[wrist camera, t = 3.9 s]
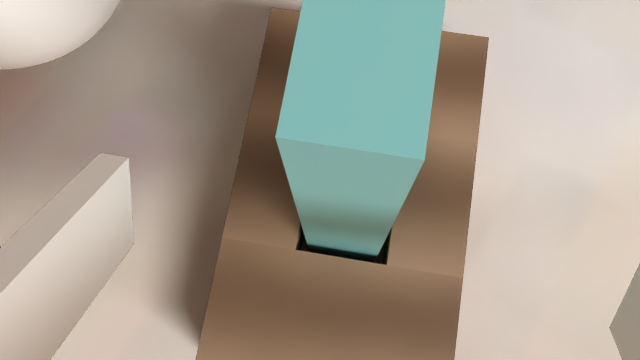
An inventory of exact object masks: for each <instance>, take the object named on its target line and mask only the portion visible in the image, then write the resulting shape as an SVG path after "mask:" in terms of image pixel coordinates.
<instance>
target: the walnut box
mask: <svg viewBox="0 0 640 360" xmlns="http://www.w3.org/2000/svg"><path fill="white" fill-rule="evenodd" d="M300 12H301V11H294V10H287V9H279V8H271V13H270V18H269V22H268V27H267V31H266V36H265V41H264V45H263V50H262V55H261V59H260V64H259V68H258V73H257V78H256V82H255V87H254V92H253V96H252V101H251V105H250V110H249V115H248V119H247V124H246V129H245V133H244V138H243V143H242V147H241V152H240V156H239V161H238V166H237V170H236V175H235V180H234V184H233V189H232V193H231V198H230V203H229V207H228V212H227V217H226V221H225V226H224V230H223V235H222V240H221V244H220V249H219V254H218V258H217V263H216V268H215V272H214V277H213V281H212V286H211V291H210V295H209V300H208V305H207V309H206V314H205V318H204V323H203V328H202V332H201V337H200V342H199V346H198V351H197V355H196V360H454V357H455V348H456V338H457V329H458V320H459V310H460V301H461V292H462V282H463V273H464V264H465V254H466V245H467V236H468V227H469V217H470V208H471V199H472V189H473V180H474V171H475V161H476V152H477V143H478V133H479V124H480V115H481V105H482V96H483V87H484V78H485V68H486V59H487V50H488V40H489V38H488V37H481V36H474V35H467V34H460V33H452V32H445V31H442V32H441V39H440V47H439V55H438V62H437V70H436V78H435V85H434V93H433V100H432V108H431V116H430V123H429V131H428V139H427V146H426V154H425V161H424V163H423V165H422V167H421V169H420V171H419V173H418V175H417V177H416V179H415V181H414V183H413V185H412V187H411V189H410V191H409V193H408V195H407V197H406V199H405V201H404V203H403V205H402V207H401V209H400V211H399V213H398V215H397V217H396V219H395V221H394V223H393V225H392V227H391V229H390V231H389V233H388V236H387V238H386V240H385V242H384V244H383V246H382V248H381V250H380V252H379V254H378V256H377V258H376V260H375V262H374V263H372V262H366V261H360V260H354V259H348V258H342V257H336V256H330V255H324V254H318V253H312V252H309V249H308V245H307V242H306V239H305V235H304V232H303V228H302V225H301V222H300V218H299V215H298V212H297V208H296V205H295V202H294V198H293V195H292V192H291V188H290V185H289V181H288V178H287V175H286V171H285V168H284V165H283V161H282V158H281V155H280V151H279V148H278V144H277V141H276V138H275V136H276V131H277V126H278V122H279V117H280V112H281V107H282V102H283V97H284V92H285V87H286V82H287V77H288V72H289V67H290V62H291V57H292V52H293V47H294V42H295V37H296V32H297V27H298V22H299V17H300Z"/></svg>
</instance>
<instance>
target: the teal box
mask: <svg viewBox="0 0 640 360" xmlns="http://www.w3.org/2000/svg"><path fill="white" fill-rule="evenodd" d="M445 1H446V0H303V2H302V7H301V12H300V17H299V22H298V27H297V32H296V37H295V42H294V47H293V52H292V57H291V62H290V67H289V72H288V77H287V82H286V87H285V92H284V97H283V102H282V107H281V112H280V117H279V122H278V126H277V131H276V136H275V138H276V141H277V144H278V148H279V151H280V155H281V158H282V161H283V165H284V168H285V171H286V175H287V178H288V181H289V185H290V188H291V192H292V195H293V198H294V202H295V205H296V208H297V212H298V215H299V218H300V222H301V225H302V228H303V232H304V235H305V239H306V242H307V245H308V249H309V252H312V253H318V254H324V255H330V256H336V257H342V258H348V259H354V260H360V261H366V262H372V263H374V262H375V260H376V258H377V256H378V254H379V252H380V250H381V248H382V246H383V244H384V242H385V240H386V238H387V236H388V233H389V231H390V229H391V227H392V225H393V223H394V221H395V219H396V217H397V215H398V213H399V211H400V209H401V207H402V205H403V203H404V201H405V199H406V197H407V195H408V193H409V191H410V189H411V187H412V185H413V183H414V181H415V179H416V177H417V175H418V173H419V171H420V169H421V167H422V165H423V163H424V161H425V154H426V146H427V139H428V131H429V123H430V116H431V108H432V100H433V93H434V85H435V78H436V70H437V62H438V55H439V47H440V39H441V32H442V24H443V16H444V9H445Z"/></svg>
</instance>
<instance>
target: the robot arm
mask: <svg viewBox="0 0 640 360" xmlns="http://www.w3.org/2000/svg"><path fill="white" fill-rule="evenodd" d="M133 245H134V232H133V217H132V201H131V185H130V170H129V157H123V156H117V155H111V154H105V153H100V154H99V155H97V156H96V157H95V158H94V159H93V160H92V161H91V162H90V163H89V164H88V165H87V166H86V167H85V168H84V169H83V170H82V171H81V172H80V173H78V174H77V175H76V176H75V177H74V178H73V179H72V180H71V181H70V182H69V183H68V184H67V185H66V186H65V187H64V188H63V189H62V190H61V191H60V192H58V193H57V194H56V195H55V196H54V197H53V198H52V199H51V200H50V201H49V202H48V203H47V204H46V205H45V206H44V207H43V208H42V209H41V210H40V211H38V212H37V213H36V214H35V215H34V216H33V217H32V218H31V219H30V220H29V221H28V222H27V223H26V224H25V225H24V226H23V227H22V228H21V229H20V230H18V231H17V232H16V233H15V234H14V235H13V236H12V237H11V238H10V239H9V240H8V241H7V242H6V243H5V244H4V245H3V246H2V247H0V360H50V359H51V358H52V357H53V355H54V354H55V353H56V351H57V350H58V348H59V347H60V346H61V344H62V343H63V341H64V340H65V339H66V337H67V336H68V335H69V333H70V332H71V330H72V329H73V328H74V326H75V325H76V324H77V322H78V321H79V319H80V318H81V317H82V315H83V314H84V312H85V311H86V310H87V308H88V307H89V306H90V304H91V303H92V301H93V300H94V299H95V297H96V296H97V294H98V293H99V292H100V290H101V289H102V288H103V286H104V285H105V283H106V282H107V281H108V279H109V278H110V276H111V275H112V274H113V272H114V271H115V270H116V268H117V267H118V265H119V264H120V263H121V261H122V260H123V258H124V257H125V256H126V254H127V253H128V252H129V250H130V249H131V247H132V246H133ZM609 328H610V330H611V333H612V335H613V338H614V340H615V343H616V345H617V348H618V350H619V353H620V355H621V358H622V360H640V264H639V266H638V268H637V271H636V273H635V275H634V277H633V279H632V281H631V283H630V285H629V287H628V289H627V292H626V294H625V296H624V298H623V300H622V302H621V304H620V306H619V308H618V311H617V313H616V315H615V317H614V319H613V321H612V323H611V325H610V327H609Z"/></svg>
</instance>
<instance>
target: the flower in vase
mask: <svg viewBox="0 0 640 360" xmlns="http://www.w3.org/2000/svg"><path fill="white" fill-rule="evenodd" d="M119 2H120V0H0V69H18V68H24V67H30V66H35V65H39V64H43V63H46V62H50V61H53V60H55V59H58V58H60V57H62V56H65V55H67V54H68V53H70V52H72V51H74V50H76V49H77V48H79V47H80V46H82V45H83V44H84V43H86V42H87V41H89V40H90V39H91V38H92V37H93V36H94V35H95V34H96V33H97V32H99V31H100V29H101V28H102V27H103V26H104V25H105V24H106V23H107V21H108V20H109V19H110V17H111V16H112V14H113V13H114V11H115V10H116V8H117V6H118V4H119Z"/></svg>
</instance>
